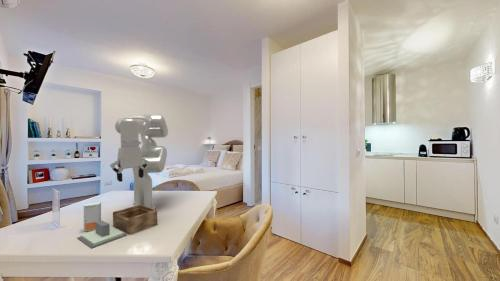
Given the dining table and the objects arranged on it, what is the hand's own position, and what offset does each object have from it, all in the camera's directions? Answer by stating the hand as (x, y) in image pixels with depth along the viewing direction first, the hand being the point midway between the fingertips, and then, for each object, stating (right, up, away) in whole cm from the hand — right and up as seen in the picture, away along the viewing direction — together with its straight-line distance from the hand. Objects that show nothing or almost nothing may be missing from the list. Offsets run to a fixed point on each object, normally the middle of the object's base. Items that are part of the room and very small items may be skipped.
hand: (130, 179), depth 102 cm
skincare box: (-15, -23, -5) cm, 28 cm away
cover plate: (-5, -22, -13) cm, 26 cm away
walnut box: (+3, -22, -1) cm, 22 cm away
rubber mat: (-5, -23, -13) cm, 26 cm away
